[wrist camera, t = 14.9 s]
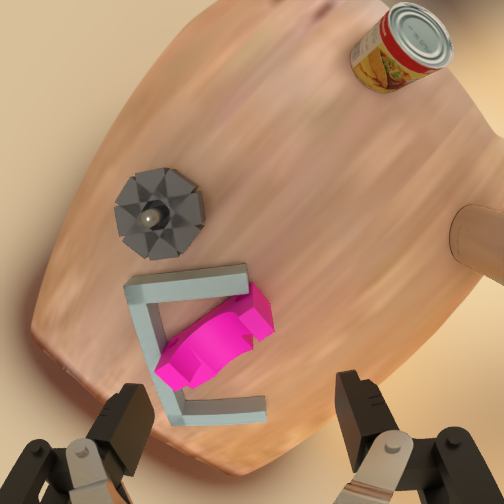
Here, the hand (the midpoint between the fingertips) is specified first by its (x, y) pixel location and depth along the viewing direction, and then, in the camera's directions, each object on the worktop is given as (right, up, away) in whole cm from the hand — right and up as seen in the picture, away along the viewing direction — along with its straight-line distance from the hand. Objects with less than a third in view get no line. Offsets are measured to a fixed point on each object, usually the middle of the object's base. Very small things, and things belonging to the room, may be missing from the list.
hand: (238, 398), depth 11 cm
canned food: (+17, +30, +19) cm, 40 cm away
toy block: (-3, -5, +28) cm, 29 cm away
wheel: (-9, +10, +20) cm, 24 cm away
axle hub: (-9, +11, +24) cm, 28 cm away
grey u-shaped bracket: (-6, -8, +29) cm, 31 cm away
